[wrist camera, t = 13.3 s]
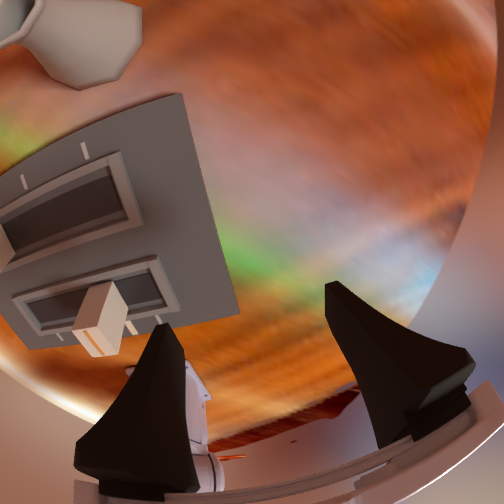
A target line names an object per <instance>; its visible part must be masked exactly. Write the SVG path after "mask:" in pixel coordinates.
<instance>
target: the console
mask: <svg viewBox="0 0 504 504" xmlns="http://www.w3.org/2000/svg"><path fill="white" fill-rule="evenodd" d="M0 224H1V225H2V227H3V229H4V231H5V233H6V236H7V238H8V240H9V242H10V244H11V246H12V248H13V250H14V251H15V253H16V254H15V255H14V256H13V258H12V259H11V260H10V261H9V262H8V264H7V265H6V266H5V267H4V269H3V270H2V271H1V272H0V313H1V315H2V316H3V317H4V319H5V320H6V321H7V323H8V324H9V325H10V327H11V328H12V329H13V330H14V332H15V333H16V334H17V335H18V337H19V338H20V339H21V340H22V342H23V343H24V344H25V345H26V346H27V347H28V349H29V350H33V349H43V348H52V347H60V346H68V345H76V344H81V343H80V341H79V340H78V339H77V338H76V336H75V335H74V334H73V333H72V331H71V330H72V327H73V325H74V322H75V320H76V317H77V315H78V312H79V310H80V307H81V305H82V303H83V300H84V298H85V296H86V293H87V291H88V289H89V287H91V286H95V285H98V284H102V283H106V282H110V281H113V282H114V284H115V286H116V288H117V289H118V291H119V293H120V295H121V296H122V298H123V300H124V302H125V303H126V305H127V307H128V312H127V316H126V320H125V325H124V329H123V334H122V338H123V337H129V336H135V335H140V334H146V333H151V332H153V330H154V328H155V326H156V325H158V324H163V323H169V325H170V327H171V328H177V327H182V326H187V325H192V324H197V323H201V322H206V321H210V320H215V319H219V318H224V317H228V316H232V315H237V314H240V311H239V306H238V302H237V299H236V295H235V292H234V289H233V285H232V282H231V278H230V275H229V272H228V268H227V265H226V261H225V258H224V254H223V251H222V247H221V243H220V240H219V236H218V233H217V229H216V225H215V222H214V218H213V214H212V211H211V207H210V203H209V200H208V196H207V192H206V188H205V184H204V181H203V177H202V173H201V169H200V165H199V161H198V157H197V153H196V149H195V145H194V141H193V137H192V133H191V129H190V125H189V121H188V117H187V113H186V108H185V104H184V100H183V96H182V93H178V94H174V95H171V96H167V97H164V98H161V99H157V100H154V101H151V102H148V103H145V104H142V105H139V106H136V107H134V108H131V109H128V110H126V111H123V112H120V113H118V114H115V115H113V116H110V117H108V118H105V119H103V120H101V121H98V122H96V123H94V124H91V125H89V126H87V127H85V128H83V129H81V130H78V131H76V132H74V133H72V134H70V135H68V136H66V137H64V138H62V139H60V140H59V141H57V142H55V143H53V144H51V145H49V146H47V147H46V148H44V149H42V150H40V151H39V152H37V153H35V154H34V155H32V156H30V157H29V158H27V159H25V160H24V161H22V162H21V163H19V164H17V165H16V166H14V167H13V168H11V169H10V170H8V171H7V172H5V173H4V174H3V175H1V176H0Z"/></svg>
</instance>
